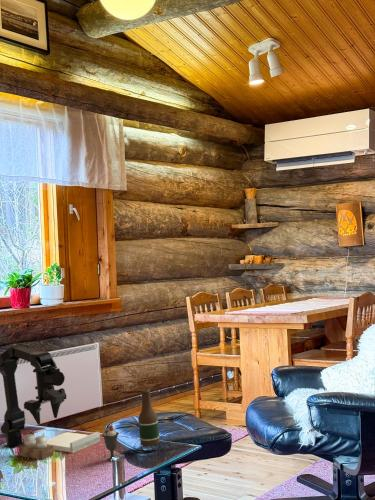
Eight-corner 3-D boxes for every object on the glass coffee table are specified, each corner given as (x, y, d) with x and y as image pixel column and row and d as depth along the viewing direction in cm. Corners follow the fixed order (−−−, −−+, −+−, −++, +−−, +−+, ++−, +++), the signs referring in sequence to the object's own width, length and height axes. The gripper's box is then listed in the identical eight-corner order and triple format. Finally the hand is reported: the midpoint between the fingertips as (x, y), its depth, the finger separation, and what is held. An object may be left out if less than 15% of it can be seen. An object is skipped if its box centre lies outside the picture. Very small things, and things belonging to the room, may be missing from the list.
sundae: (118, 462, 274) (115, 423, 273) (102, 462, 275) (98, 424, 274) (123, 456, 280) (119, 418, 280) (107, 456, 281) (103, 419, 281)
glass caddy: (19, 456, 294) (17, 437, 294) (30, 451, 299) (28, 432, 298) (42, 460, 285) (40, 440, 285) (53, 455, 290) (51, 436, 290)
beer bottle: (141, 446, 290) (135, 388, 289) (160, 444, 291) (154, 386, 290) (141, 452, 283) (135, 392, 282) (161, 450, 283) (155, 390, 282)
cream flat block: (39, 447, 303) (38, 438, 302) (67, 436, 315) (66, 427, 315) (73, 452, 291) (72, 443, 291) (100, 441, 303) (99, 432, 303)
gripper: (40, 390, 279) (44, 429, 280) (74, 379, 294) (77, 416, 295) (21, 388, 286) (24, 426, 286) (55, 377, 301) (58, 414, 301)
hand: (47, 421), depth 292 cm, fingers open, 9 cm apart
